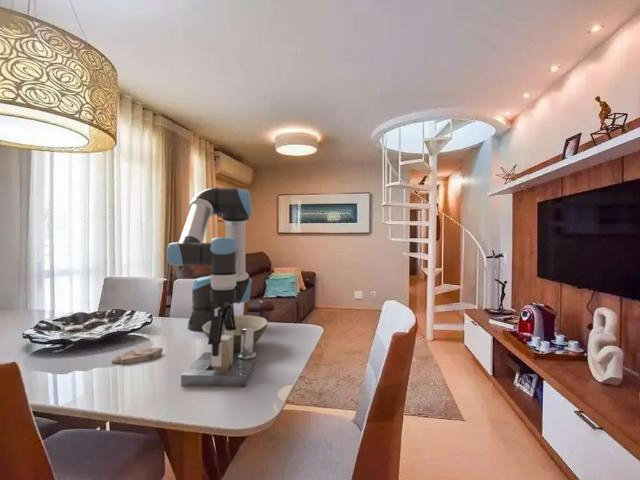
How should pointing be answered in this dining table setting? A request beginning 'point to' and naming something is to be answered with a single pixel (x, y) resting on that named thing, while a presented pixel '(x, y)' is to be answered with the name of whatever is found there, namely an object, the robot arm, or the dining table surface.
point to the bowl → (241, 322)
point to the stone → (138, 355)
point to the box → (226, 354)
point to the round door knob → (246, 344)
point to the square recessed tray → (218, 372)
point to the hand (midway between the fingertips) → (222, 357)
